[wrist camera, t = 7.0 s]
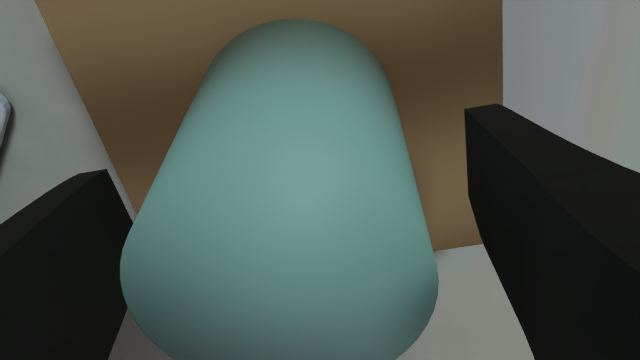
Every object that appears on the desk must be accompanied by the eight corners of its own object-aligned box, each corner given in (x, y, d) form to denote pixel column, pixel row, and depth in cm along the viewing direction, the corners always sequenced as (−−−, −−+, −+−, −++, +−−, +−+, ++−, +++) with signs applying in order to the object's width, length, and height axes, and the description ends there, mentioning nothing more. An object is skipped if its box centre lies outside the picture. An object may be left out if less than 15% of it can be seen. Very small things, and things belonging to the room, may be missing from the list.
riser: (477, 182, 18) (503, 240, 15) (192, 226, 19) (172, 287, 16) (465, -168, 12) (501, -167, 10) (65, -79, 13) (7, -57, 11)
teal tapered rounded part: (331, 221, 15) (334, 420, 10) (170, 146, 14) (80, 333, 9) (434, 83, 13) (506, 253, 8) (252, -23, 11) (193, 98, 6)
